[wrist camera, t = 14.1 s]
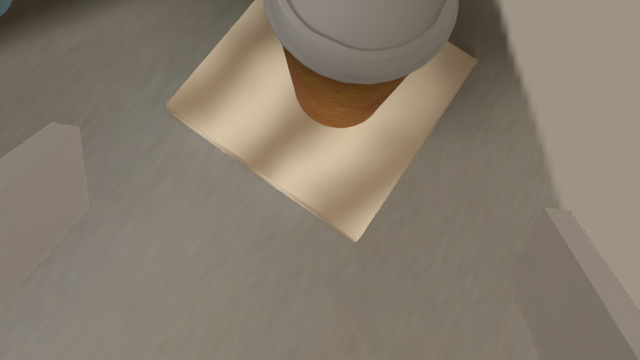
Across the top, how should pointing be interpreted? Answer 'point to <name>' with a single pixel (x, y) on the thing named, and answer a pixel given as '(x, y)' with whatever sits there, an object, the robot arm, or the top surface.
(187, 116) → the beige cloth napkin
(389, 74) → the disposable coffee cup
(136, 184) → the top surface
